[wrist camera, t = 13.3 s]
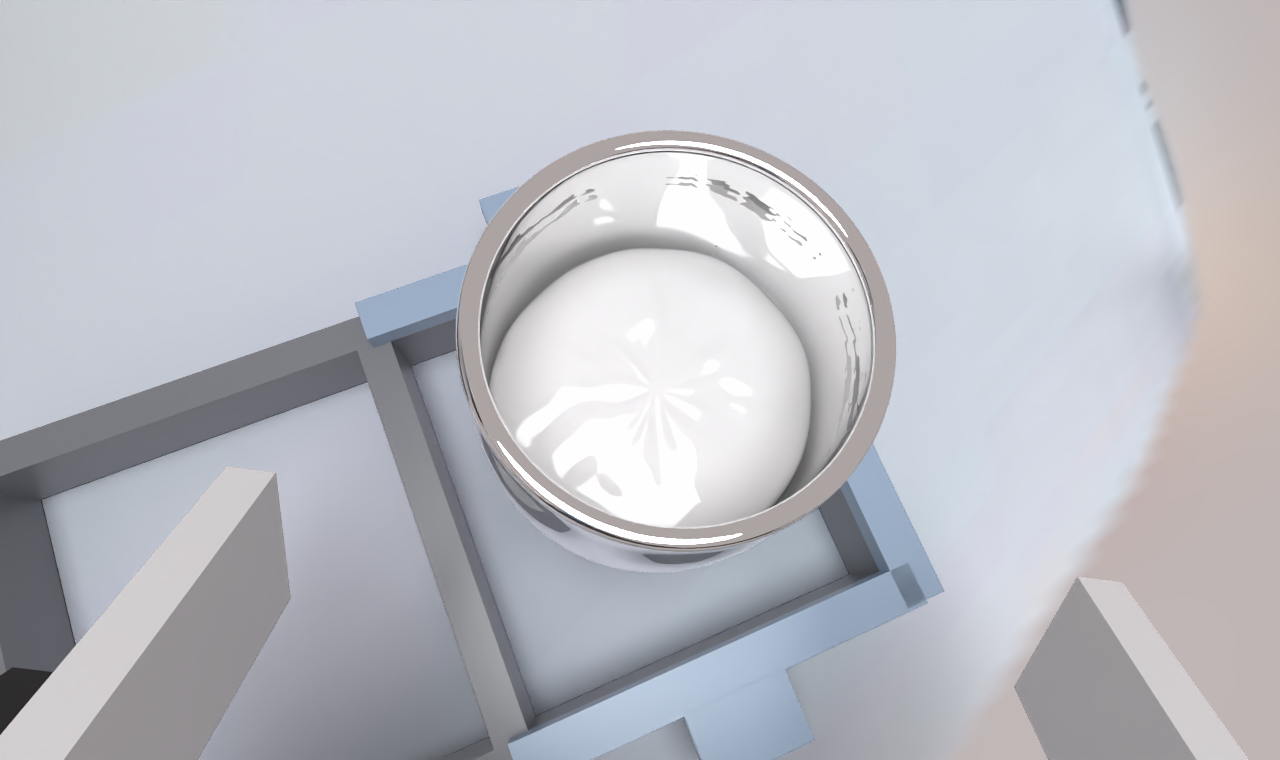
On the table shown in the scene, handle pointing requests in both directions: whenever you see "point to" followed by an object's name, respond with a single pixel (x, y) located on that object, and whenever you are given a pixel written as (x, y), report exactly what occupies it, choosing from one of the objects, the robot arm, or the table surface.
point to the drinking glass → (672, 348)
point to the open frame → (463, 543)
